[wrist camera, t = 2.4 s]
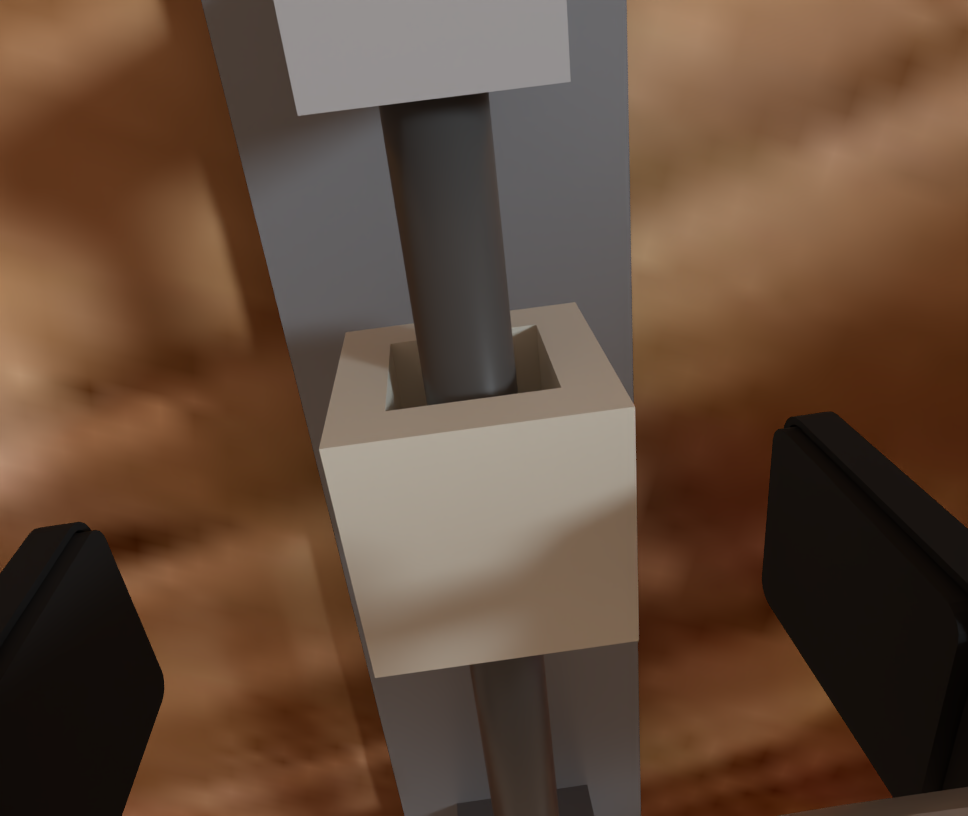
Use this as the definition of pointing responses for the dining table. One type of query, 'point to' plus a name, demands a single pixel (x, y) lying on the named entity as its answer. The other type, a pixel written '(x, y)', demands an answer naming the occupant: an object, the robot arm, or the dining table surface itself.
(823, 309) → the dining table surface
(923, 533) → the robot arm
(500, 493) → the sleeve
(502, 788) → the linear slide rail
